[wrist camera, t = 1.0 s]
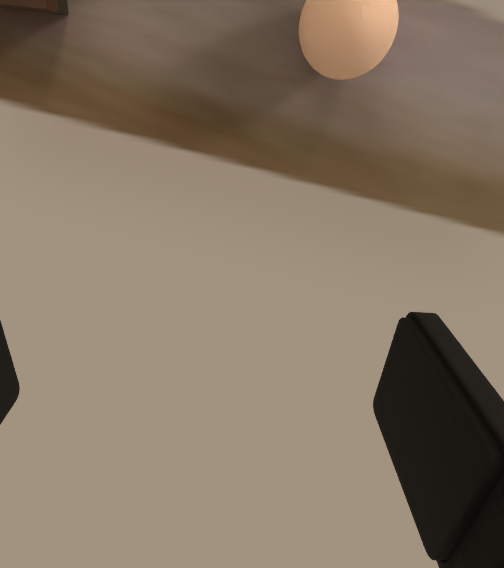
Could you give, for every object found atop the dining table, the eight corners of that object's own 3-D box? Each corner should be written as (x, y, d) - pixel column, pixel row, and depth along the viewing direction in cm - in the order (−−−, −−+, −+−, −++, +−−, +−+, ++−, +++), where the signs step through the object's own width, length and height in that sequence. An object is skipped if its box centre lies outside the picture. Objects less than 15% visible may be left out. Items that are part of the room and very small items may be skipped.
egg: (276, 41, 27) (286, 36, 21) (331, -45, 25) (362, -81, 18) (337, 95, 29) (365, 106, 22) (394, 19, 27) (443, 6, 20)
